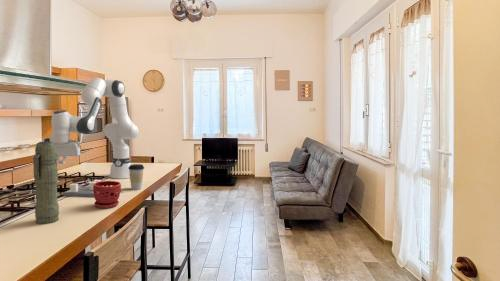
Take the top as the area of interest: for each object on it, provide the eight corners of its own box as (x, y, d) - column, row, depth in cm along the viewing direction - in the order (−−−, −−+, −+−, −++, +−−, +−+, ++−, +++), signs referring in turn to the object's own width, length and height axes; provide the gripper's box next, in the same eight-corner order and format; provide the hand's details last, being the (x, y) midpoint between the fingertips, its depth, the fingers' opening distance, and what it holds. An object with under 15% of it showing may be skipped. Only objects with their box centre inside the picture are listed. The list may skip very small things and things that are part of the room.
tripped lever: (72, 190, 192) (72, 183, 191) (78, 191, 192) (78, 183, 191) (70, 192, 189) (70, 184, 189) (75, 192, 189) (75, 184, 189)
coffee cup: (129, 191, 203) (129, 166, 202) (127, 187, 212) (127, 164, 210) (145, 189, 208) (145, 166, 206) (142, 186, 216) (142, 163, 215)
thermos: (28, 224, 142) (25, 143, 139) (46, 216, 154) (43, 140, 151) (48, 225, 142) (46, 143, 139) (64, 216, 154) (63, 141, 150)
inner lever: (95, 186, 203) (95, 179, 202) (100, 187, 203) (100, 179, 202) (93, 187, 200) (93, 180, 200) (98, 188, 200) (98, 180, 200)
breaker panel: (77, 189, 204) (77, 186, 204) (107, 190, 204) (107, 186, 204) (63, 196, 188) (63, 192, 188) (95, 197, 188) (95, 193, 188)
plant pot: (93, 210, 164) (92, 186, 163) (93, 203, 176) (93, 181, 175) (121, 208, 169) (121, 185, 168) (120, 201, 181) (120, 179, 180)
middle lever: (91, 189, 197) (91, 181, 197) (96, 189, 197) (96, 181, 197) (89, 190, 195) (89, 182, 194) (94, 190, 195) (94, 182, 194)
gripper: (82, 139, 191) (82, 163, 192) (46, 138, 190) (46, 162, 192) (76, 140, 184) (77, 165, 186) (39, 139, 184) (40, 164, 185)
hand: (61, 163), depth 189 cm, fingers closed
